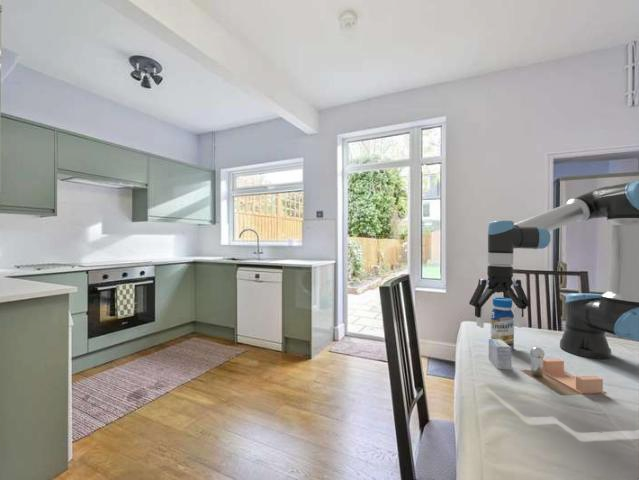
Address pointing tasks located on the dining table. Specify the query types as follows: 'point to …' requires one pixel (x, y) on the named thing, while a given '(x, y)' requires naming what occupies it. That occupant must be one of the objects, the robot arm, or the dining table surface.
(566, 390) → the board
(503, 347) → the medicine box
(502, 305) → the beverage bottle
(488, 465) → the dining table surface
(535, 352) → the light bulb
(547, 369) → the end holder
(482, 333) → the dining table surface
